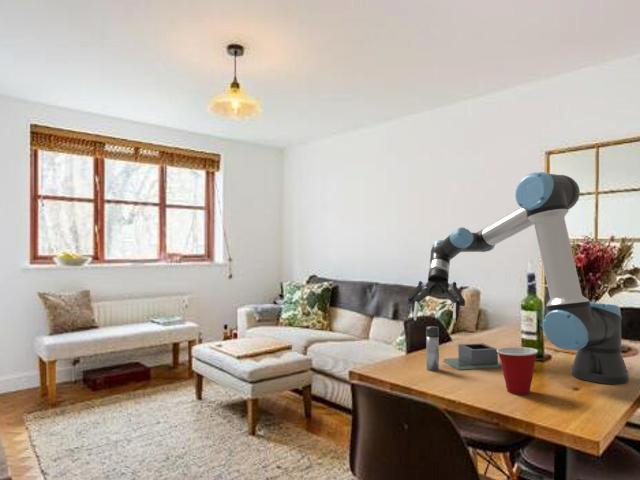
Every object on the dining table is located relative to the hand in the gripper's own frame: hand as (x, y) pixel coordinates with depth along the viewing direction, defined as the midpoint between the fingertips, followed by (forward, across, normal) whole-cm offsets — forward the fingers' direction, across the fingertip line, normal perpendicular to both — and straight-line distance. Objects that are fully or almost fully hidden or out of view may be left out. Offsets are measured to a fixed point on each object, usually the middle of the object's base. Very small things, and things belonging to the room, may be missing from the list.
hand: (434, 319), depth 160 cm
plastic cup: (+28, -26, +7) cm, 39 cm away
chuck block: (+10, -13, -12) cm, 20 cm away
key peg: (+17, 0, -4) cm, 18 cm away
